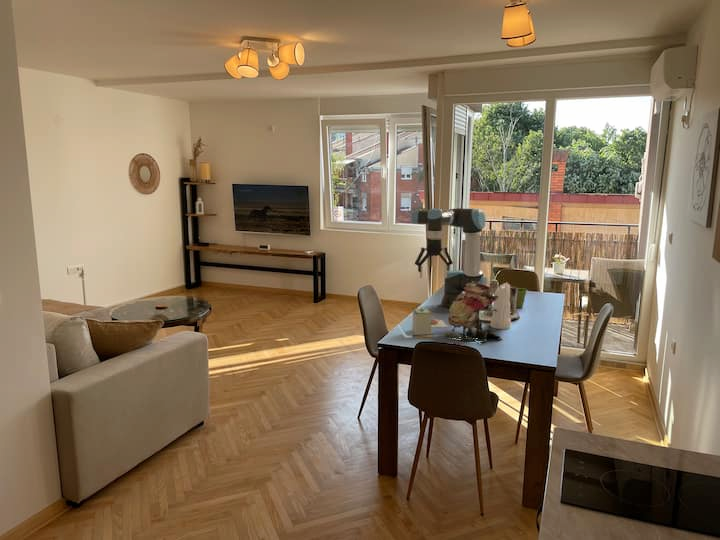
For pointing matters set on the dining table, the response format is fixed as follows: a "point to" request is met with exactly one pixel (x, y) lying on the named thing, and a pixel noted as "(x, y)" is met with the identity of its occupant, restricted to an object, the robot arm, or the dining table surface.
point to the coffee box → (513, 298)
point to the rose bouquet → (471, 312)
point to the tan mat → (423, 336)
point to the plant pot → (520, 297)
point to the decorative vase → (502, 308)
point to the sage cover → (421, 321)
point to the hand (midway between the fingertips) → (433, 277)
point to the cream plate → (437, 323)
